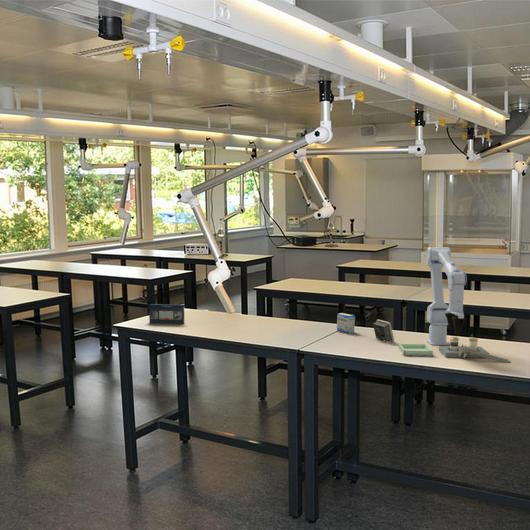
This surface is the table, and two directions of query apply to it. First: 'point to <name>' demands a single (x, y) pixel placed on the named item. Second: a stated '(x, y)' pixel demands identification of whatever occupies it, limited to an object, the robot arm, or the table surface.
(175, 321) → the vhs cassette tape
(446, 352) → the fuse block
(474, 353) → the caliper
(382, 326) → the electrical switch
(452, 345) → the banded cream cylinder
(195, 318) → the table surface
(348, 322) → the medicine box
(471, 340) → the fuse
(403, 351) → the parts tray
